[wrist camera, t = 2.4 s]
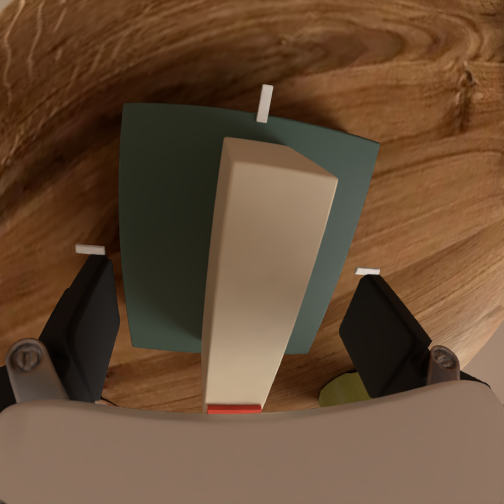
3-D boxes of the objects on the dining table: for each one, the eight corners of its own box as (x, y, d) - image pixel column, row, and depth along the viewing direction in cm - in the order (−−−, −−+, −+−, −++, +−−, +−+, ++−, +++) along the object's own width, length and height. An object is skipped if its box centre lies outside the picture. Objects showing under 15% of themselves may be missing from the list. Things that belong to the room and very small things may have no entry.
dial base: (103, 81, 10) (74, 77, 7) (387, 124, 13) (424, 134, 10) (111, 320, 17) (100, 356, 14) (319, 331, 19) (333, 365, 17)
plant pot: (405, 366, 24) (441, 431, 17) (340, 414, 27) (362, 477, 20) (358, 343, 21) (401, 434, 13) (281, 403, 24) (300, 485, 16)
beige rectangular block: (224, 136, 9) (233, 162, 5) (289, 146, 10) (344, 181, 6) (201, 342, 14) (203, 422, 10) (247, 343, 15) (260, 421, 10)
